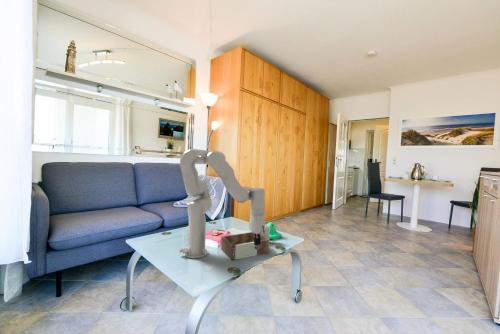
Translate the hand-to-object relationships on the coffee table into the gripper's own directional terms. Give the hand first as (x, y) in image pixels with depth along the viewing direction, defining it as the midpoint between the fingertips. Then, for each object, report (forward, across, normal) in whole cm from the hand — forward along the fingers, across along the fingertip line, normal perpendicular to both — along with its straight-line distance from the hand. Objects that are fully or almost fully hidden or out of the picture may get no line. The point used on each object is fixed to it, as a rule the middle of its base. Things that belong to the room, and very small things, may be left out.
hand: (257, 244), depth 117 cm
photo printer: (+10, -23, +17) cm, 30 cm away
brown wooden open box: (+9, -15, 0) cm, 17 cm away
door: (+9, -7, -4) cm, 11 cm away
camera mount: (+10, -27, +29) cm, 41 cm away
